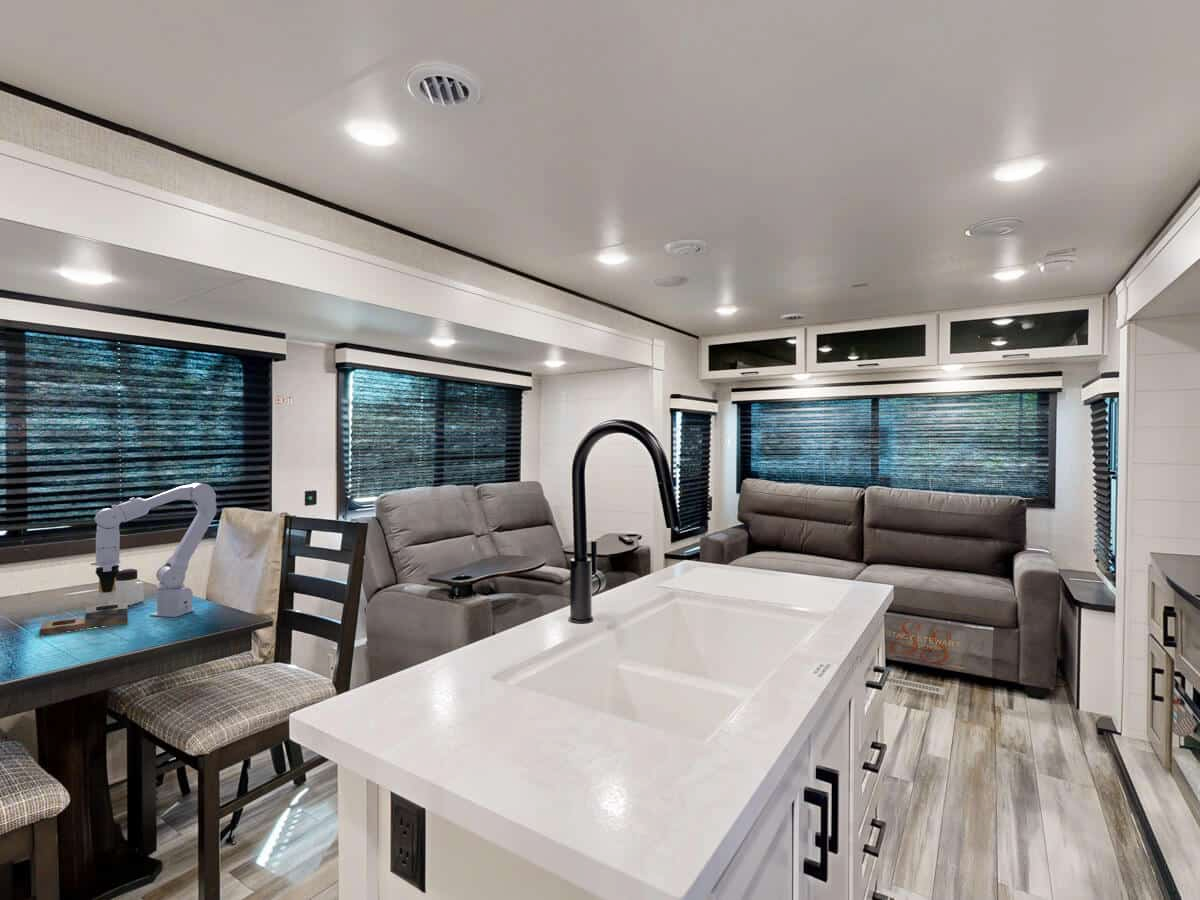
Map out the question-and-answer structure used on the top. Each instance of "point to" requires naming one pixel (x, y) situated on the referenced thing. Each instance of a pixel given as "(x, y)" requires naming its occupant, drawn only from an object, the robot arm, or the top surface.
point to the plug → (107, 593)
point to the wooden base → (89, 619)
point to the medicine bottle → (128, 587)
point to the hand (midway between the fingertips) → (107, 590)
